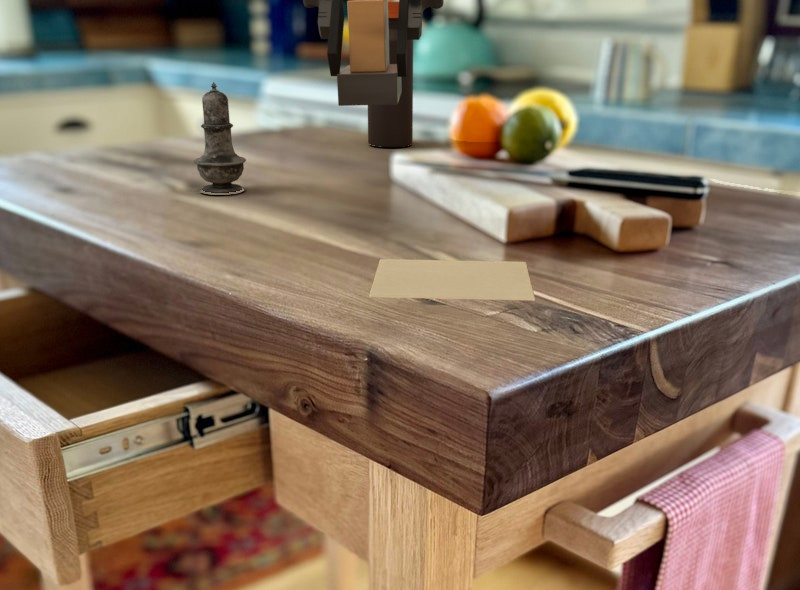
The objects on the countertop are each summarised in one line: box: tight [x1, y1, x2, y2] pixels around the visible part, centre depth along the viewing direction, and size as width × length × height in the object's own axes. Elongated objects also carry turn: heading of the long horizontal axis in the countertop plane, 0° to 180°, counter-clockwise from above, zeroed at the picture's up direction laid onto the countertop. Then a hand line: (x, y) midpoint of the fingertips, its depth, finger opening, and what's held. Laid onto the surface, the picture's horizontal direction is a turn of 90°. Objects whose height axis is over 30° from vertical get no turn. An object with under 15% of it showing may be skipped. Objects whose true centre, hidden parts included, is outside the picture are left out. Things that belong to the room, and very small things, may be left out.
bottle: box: [367, 0, 414, 148], centre depth 129 cm, size 7×7×20 cm
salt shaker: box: [193, 81, 247, 193], centre depth 99 cm, size 6×6×12 cm
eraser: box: [336, 0, 402, 107], centre depth 76 cm, size 10×5×8 cm, turn 178°
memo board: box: [368, 258, 536, 302], centre depth 67 cm, size 12×10×1 cm
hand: (367, 64), depth 73 cm, fingers closed on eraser, 5 cm apart
